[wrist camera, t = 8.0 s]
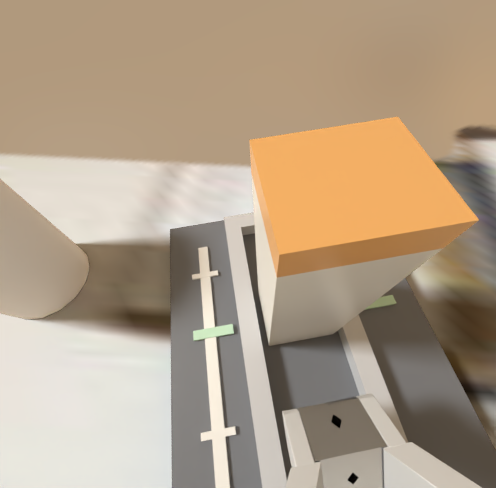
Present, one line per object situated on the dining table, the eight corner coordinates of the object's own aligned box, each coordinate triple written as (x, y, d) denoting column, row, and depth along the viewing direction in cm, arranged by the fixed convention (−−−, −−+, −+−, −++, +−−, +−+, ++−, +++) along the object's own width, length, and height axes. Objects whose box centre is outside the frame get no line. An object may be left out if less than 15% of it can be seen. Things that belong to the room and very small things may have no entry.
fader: (332, 334, 13) (478, 220, 4) (268, 346, 13) (279, 254, 4) (316, 282, 15) (397, 116, 6) (258, 292, 15) (249, 139, 6)
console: (561, 630, 9) (653, 704, 7) (187, 718, 9) (162, 826, 7) (356, 209, 19) (368, 187, 17) (176, 240, 19) (165, 221, 17)
